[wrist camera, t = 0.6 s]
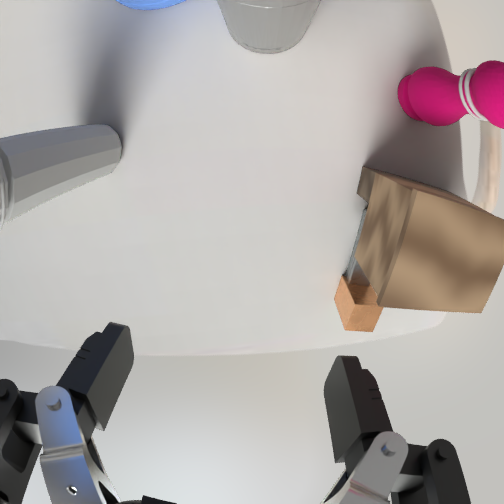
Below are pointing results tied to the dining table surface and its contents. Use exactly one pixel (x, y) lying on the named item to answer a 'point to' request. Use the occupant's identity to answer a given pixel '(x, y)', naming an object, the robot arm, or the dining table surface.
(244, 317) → the dining table surface
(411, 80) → the pepper mill
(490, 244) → the brown wooden block
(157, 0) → the water jug
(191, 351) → the dining table surface
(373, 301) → the tan grey l-shaped piece
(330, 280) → the dining table surface
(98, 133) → the water bottle
